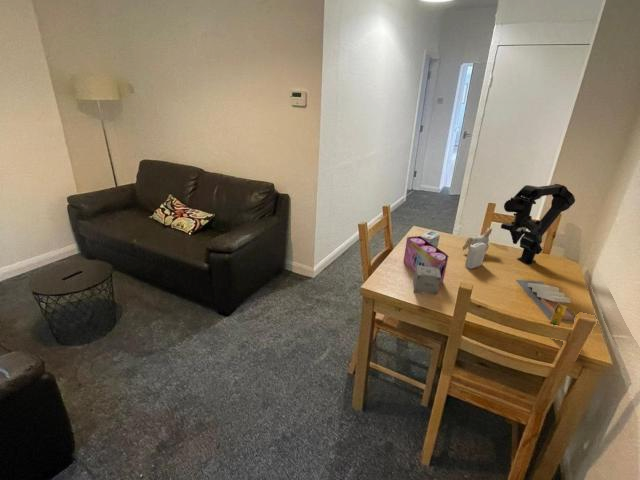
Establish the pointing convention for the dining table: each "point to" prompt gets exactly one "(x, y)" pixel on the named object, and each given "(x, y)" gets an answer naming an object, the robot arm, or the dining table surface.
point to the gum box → (424, 255)
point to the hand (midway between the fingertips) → (514, 243)
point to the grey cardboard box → (426, 279)
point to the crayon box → (558, 314)
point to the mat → (537, 299)
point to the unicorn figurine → (478, 239)
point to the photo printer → (475, 255)
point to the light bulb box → (431, 237)
